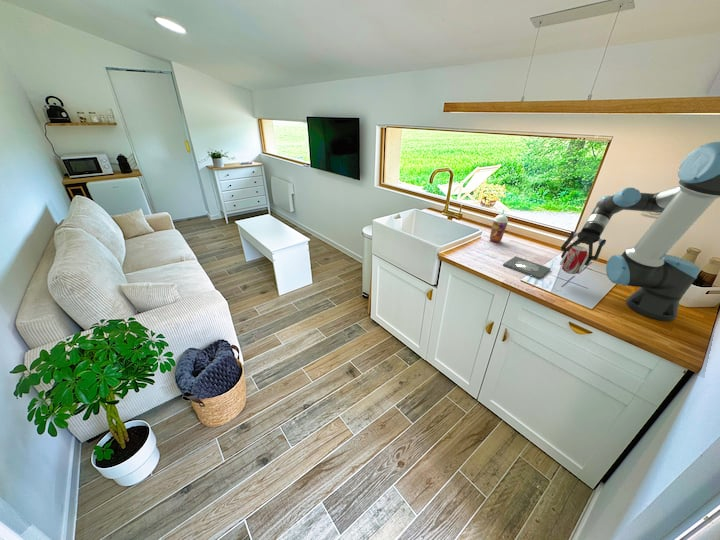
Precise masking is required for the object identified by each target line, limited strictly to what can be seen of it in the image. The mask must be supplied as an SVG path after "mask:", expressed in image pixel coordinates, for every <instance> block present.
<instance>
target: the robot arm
mask: <svg viewBox="0 0 720 540" xmlns="http://www.w3.org/2000/svg"><path fill="white" fill-rule="evenodd" d="M678 168H679V170H678V172H677V176H678V178H679V181H678V183H677V184H678V185H677V186H674V187H671V188H668V189H666V190H663V191H659V192H656V193H651V192H650V193H647V192H640V190H639V189H637V188H635V187H625V188H623V189H622V190H619V191H617V192H616V193H614V194H612V195H607V196H606V195H605V196H603V197H601V198H600V199H599V200H598V201H597V202H596V205H595V206H594V208H593V210H592V212H591V214H590V215H589V217H588V218H587V220H586V222H585V223H584V225H583V227H582V228H581V230H580V231H579V232H574V231H571V232H570V235H569V237H568V238H567V239H566V240H565V241H564V242H563V244H562V245H561V247H560V251H562V254H561V255H560V256H561V257H560V258H561V260H560V262H559V265H560V266H563V263H564V261H565V258H566V256H567V254H568V252H569V250H570V249H571V248H572V246H579V245H580V244H585V245H588V252H587V253H588V254H587V257H586V258H585V260H584V261H583V263H582V265H581V266H580V268H579V273H580V272H582V270H583V269H584V267H585V266H586V267H588V265H589V264H590V263H591V261H598V258H599V256H600V253H601V251H602V249H603V247H604V245H606V243H607V240H606V239H602V238H601V235H602V234H603V233H604V230H605V229H606V227H607V225H608V224H609V222H610V220H611V218H612V217H613V216H614V215H615V214H617V213H620V212H622V211H633V212H634V211H637V212H647V213H648V212H649V213H656V214H659V215H658V216H657V217H656V219H655V220H654V221H653V223H652V224H651V225H650V227H649V228H648V229H647V230H646V231H645V232H644V233H643V235H642V236H641V238H640V239H639V240H638V241H637V242H636V244H635V245H634V246H630V247H627V248H625V250H624V251H623V252H622V254H615V255H613V254H612V256H610V257H609V258H608V260H607V263H606V267H605V272H606V277H607V278H608V280H610V282H612V283H613V284H615V285H621V286H623V287H625V286H628V287H637V288H638V289H637V290H636V291H634V292H633V293H631V294H630V296H628V298H626V300H625V303H626V306H628V308H629V309H631V310H633V311H634V312H636V313H638V314H640V315H642V316H644V317H647V318H650V319H653V320H657V321H663V322H671V321H674V320H675V318H676V317H677V315H678V314H679V306H680V301H681V300H682V298H683V297H684V295H685V294H686V292H687V291H688V290H689V289H690V288H691V286H692V285H693V283H695V280H696V279H698V275H699V274H700V272H701V268H700V266H698V265H697V264H696V263H694V262H692V261H689V260H688V259H684V258H682V257H679V256H676V255H672V254H667V253H668V252H669V251H670V250H671V249H672V248H673V247H674V245H675V244H676V243H677V242H678V241H679V240H680V239H681V238H682V237H683V236H684V235H685V234H686V233H687V231H689V230H690V228H691V227H692V226H693V225H694V224H695V223H696V222H697V220H698V219H699V218H700V217H701V216H702V215H703V214H704V213H705V212H706V211H707V209H708V208H709V207H710V206H712V204H713V203H714V202H715V201H716V199H720V141H713V142H708V143H706V144H704V145H701V146H699V147H696V148H695V149H693V150H692V151H691V152H690V153H689V154H688V155H686V156H685V158H684V159H683V160H682V162H681V163H680V165H679V167H678ZM576 237H577V239H576V240H575V241H574V242H572V241H573V239H574V238H576ZM571 242H572V243H571ZM597 242H598V247H597V249H596V252H595V254H594V255H593V250H594V249H593V248H594V247H593V246H594V244H596V243H597ZM570 243H571V244H570Z"/></svg>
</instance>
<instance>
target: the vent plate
mask: <svg viewBox="0 0 720 540" xmlns="http://www.w3.org/2000/svg"><path fill="white" fill-rule="evenodd" d="M502 266H504V267H505V268H506V267H507V268H509V269H512V270H513V271H517V272H519V273H522V274H524V275H527V276H530V275H532V276H533V278H535V279H538V280H540V279H542V278H543V277H544V276H545V275H546V274H548V273H549V272H550V271H551V270H552V268H551V267H548V266H545V265H542V264H539V263H536V262H534V261H530V260H528V259H525V258H523V257H522V258H521V257H520V256H517V255H516V256H514V257H512V258H510V259H509V260H507V261H506V262H504V263H503V264H502ZM532 276H531V277H532Z"/></svg>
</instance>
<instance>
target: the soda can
mask: <svg viewBox="0 0 720 540" xmlns="http://www.w3.org/2000/svg"><path fill="white" fill-rule="evenodd" d="M588 253H589V249H588V248H586V247H583V246H580V245H577V246H572V248H571V249H570V250H569V252H568V254H567V256H566V258H565V261H564V263H563V264H562V267H561V269H562V271H564V272H565V273H567V274H570V275H576V274H579V273H580V271H579V268H580V266H581V265H582V263H583V261H584V260H585V258H586V257H588Z"/></svg>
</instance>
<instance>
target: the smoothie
mask: <svg viewBox="0 0 720 540" xmlns="http://www.w3.org/2000/svg"><path fill="white" fill-rule="evenodd" d="M504 212H505V209H502V213H501V214H498V215H496V216H495V217H494V218H493V219H492V225H491V228H490V229H491V230H490V235H489V240H490V242H492V243H496V244H497V243H500V242H501V241H502V239H503V236H504V234H505V231H506V228H507V226H508V224H509V220H508V219H509V218H508V217H507V215H505V213H504Z"/></svg>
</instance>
